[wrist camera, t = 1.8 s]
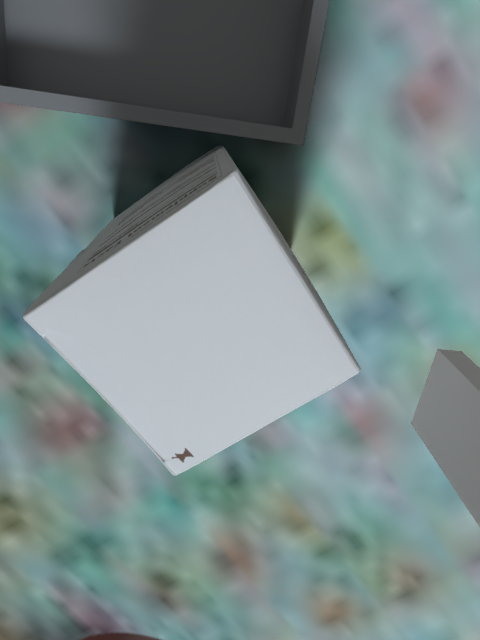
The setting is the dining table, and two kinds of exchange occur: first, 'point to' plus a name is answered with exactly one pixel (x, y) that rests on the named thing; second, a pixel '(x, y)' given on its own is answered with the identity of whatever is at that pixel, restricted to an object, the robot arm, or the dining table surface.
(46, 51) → the grey shallow rectangular tray
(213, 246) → the supplement box
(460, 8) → the dining table surface
